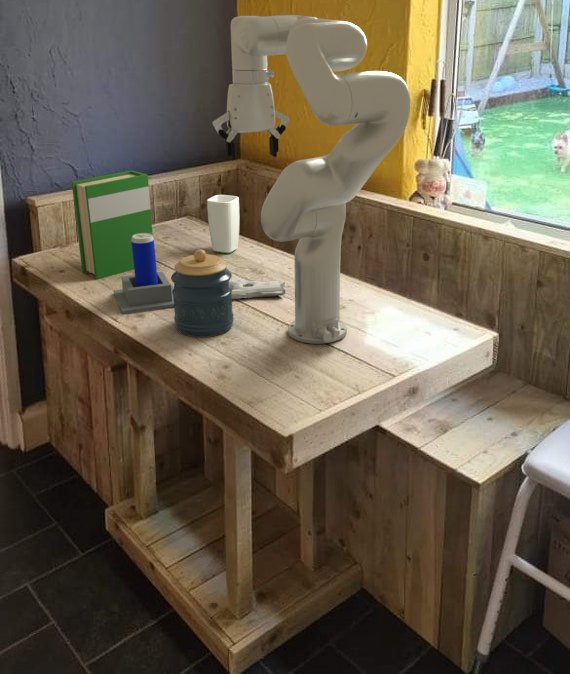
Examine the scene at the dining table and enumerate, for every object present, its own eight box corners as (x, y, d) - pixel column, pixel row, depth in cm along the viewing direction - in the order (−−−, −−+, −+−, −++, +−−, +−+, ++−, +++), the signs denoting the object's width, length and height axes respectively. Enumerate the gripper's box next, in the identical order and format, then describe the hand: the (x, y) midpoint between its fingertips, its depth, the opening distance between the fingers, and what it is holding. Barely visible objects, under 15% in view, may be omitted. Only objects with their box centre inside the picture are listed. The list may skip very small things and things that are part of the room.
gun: (283, 272, 205) (285, 286, 196) (284, 285, 206) (286, 300, 197) (210, 277, 205) (208, 292, 196) (211, 290, 206) (209, 305, 197)
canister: (168, 320, 187) (162, 244, 179) (224, 311, 191) (220, 237, 184) (183, 342, 175) (177, 262, 168) (241, 332, 180) (238, 254, 172)
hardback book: (97, 279, 212) (86, 186, 202) (82, 272, 217) (71, 181, 207) (155, 263, 222) (147, 174, 213) (139, 257, 227) (131, 170, 218)
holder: (182, 306, 194) (181, 286, 192) (122, 314, 190) (120, 294, 188) (170, 286, 206) (169, 268, 204) (113, 293, 202) (111, 274, 200)
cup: (242, 248, 233) (241, 196, 227) (230, 256, 227) (228, 203, 221) (220, 245, 236) (217, 194, 230) (207, 253, 230) (204, 200, 224)
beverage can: (163, 294, 199) (158, 234, 193) (149, 301, 195) (143, 240, 189) (146, 291, 201) (140, 231, 195) (132, 298, 197) (126, 237, 191)
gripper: (282, 73, 184) (284, 151, 191) (206, 77, 179) (210, 157, 186) (293, 77, 178) (294, 157, 185) (215, 81, 173) (219, 164, 180)
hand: (252, 157), depth 185 cm, fingers open, 9 cm apart
